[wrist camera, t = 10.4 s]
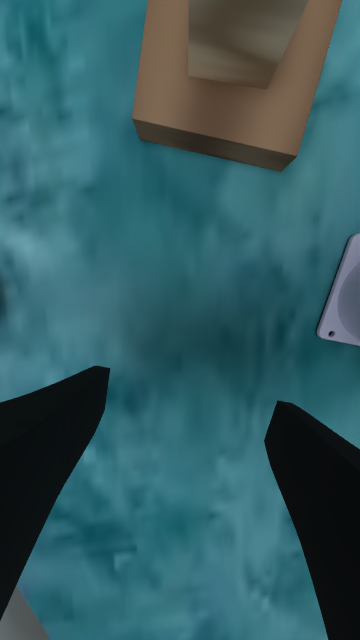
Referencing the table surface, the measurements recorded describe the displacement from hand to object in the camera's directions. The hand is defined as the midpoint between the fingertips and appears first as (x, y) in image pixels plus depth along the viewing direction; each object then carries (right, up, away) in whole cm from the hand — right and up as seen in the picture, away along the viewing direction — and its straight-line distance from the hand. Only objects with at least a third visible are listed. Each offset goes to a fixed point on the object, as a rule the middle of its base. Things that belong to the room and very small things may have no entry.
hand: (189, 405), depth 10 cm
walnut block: (+3, +20, +6) cm, 21 cm away
